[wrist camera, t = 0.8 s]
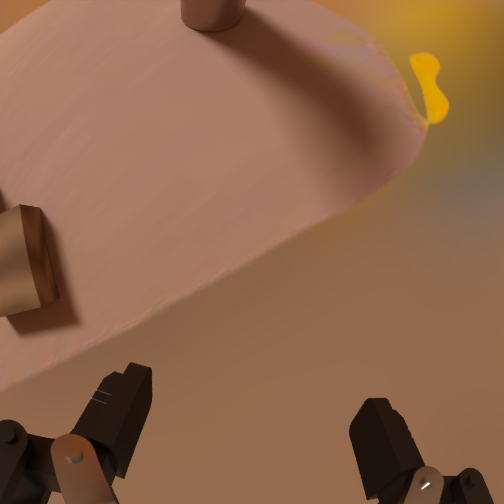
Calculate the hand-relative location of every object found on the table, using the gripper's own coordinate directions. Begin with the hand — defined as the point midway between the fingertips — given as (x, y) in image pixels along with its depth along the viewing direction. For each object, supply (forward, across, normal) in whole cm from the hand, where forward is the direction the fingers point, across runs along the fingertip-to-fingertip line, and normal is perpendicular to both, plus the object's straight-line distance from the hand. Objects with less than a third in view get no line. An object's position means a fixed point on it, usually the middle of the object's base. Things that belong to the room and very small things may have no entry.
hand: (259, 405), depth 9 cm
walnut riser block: (+19, +31, +8) cm, 37 cm away
